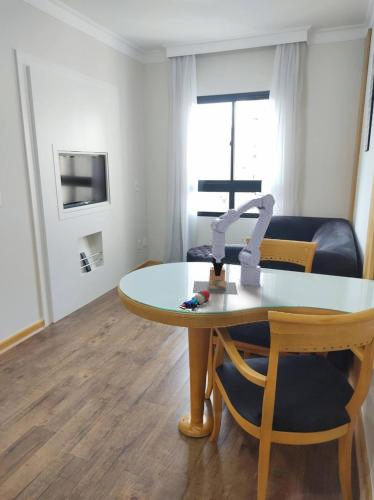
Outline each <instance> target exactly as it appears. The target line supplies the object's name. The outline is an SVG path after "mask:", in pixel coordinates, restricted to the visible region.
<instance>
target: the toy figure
mask: <svg viewBox="0 0 374 500" xmlns="http://www.w3.org/2000/svg"><path fill="white" fill-rule="evenodd" d="M210 297H211V294H210V293H209V292H208V291H201V292H199V293H195V295H194V296H193V297H191V299H190V300H188V301H184V302H183V303H182V304H181V306H182V307H185V308H189V307H190V308H193V309H197V308H198V306H199V305H203V304H204V303H207V301H208V300H209V299H210ZM186 305H187V306H186Z"/></svg>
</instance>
